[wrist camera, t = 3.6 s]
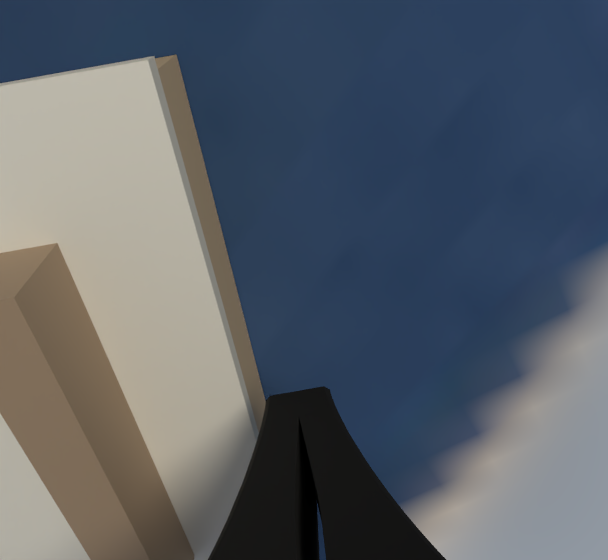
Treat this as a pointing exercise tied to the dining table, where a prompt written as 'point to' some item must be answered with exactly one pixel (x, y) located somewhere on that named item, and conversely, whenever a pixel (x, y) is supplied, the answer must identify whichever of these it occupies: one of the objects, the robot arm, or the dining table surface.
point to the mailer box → (210, 225)
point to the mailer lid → (110, 330)
